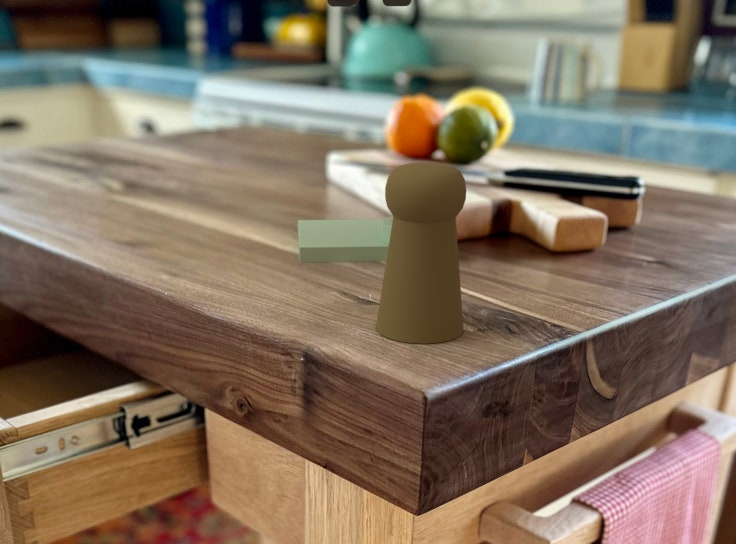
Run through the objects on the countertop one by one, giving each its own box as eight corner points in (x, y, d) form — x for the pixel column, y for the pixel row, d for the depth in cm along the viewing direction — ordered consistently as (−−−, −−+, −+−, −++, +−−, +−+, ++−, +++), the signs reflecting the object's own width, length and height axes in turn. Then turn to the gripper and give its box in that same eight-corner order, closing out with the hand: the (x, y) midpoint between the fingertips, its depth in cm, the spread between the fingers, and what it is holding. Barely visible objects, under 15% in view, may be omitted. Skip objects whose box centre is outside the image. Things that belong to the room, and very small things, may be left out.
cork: (357, 325, 60) (359, 162, 55) (419, 307, 64) (426, 153, 59) (419, 350, 56) (427, 176, 51) (482, 329, 59) (494, 165, 55)
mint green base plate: (430, 232, 84) (431, 201, 83) (449, 263, 74) (451, 228, 73) (298, 234, 83) (297, 203, 82) (299, 265, 74) (299, 230, 72)
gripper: (377, -303, 50) (372, 7, 57) (469, -247, 61) (456, 6, 68) (268, -284, 53) (275, 7, 60) (374, -235, 65) (370, 5, 71)
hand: (371, 6), depth 64 cm, fingers open, 8 cm apart
